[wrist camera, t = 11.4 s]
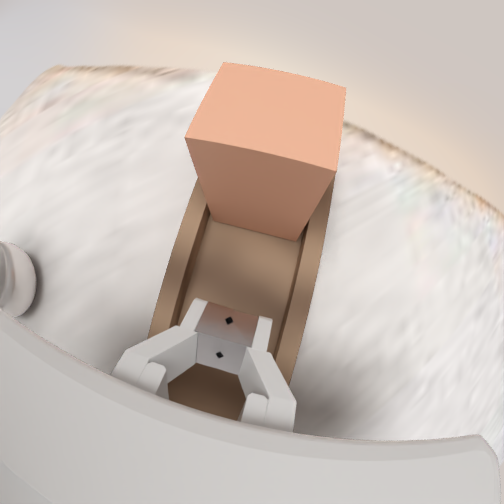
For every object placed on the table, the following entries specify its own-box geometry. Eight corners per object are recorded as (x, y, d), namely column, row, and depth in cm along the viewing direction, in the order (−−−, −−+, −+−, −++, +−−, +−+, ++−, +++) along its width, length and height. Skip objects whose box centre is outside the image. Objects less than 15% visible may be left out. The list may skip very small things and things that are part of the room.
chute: (256, 459, 17) (257, 485, 13) (141, 425, 17) (121, 444, 14) (328, 170, 22) (342, 143, 18) (222, 144, 23) (218, 115, 19)
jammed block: (295, 241, 20) (336, 171, 10) (213, 220, 20) (184, 137, 10) (308, 180, 21) (346, 87, 11) (232, 162, 21) (223, 62, 11)
